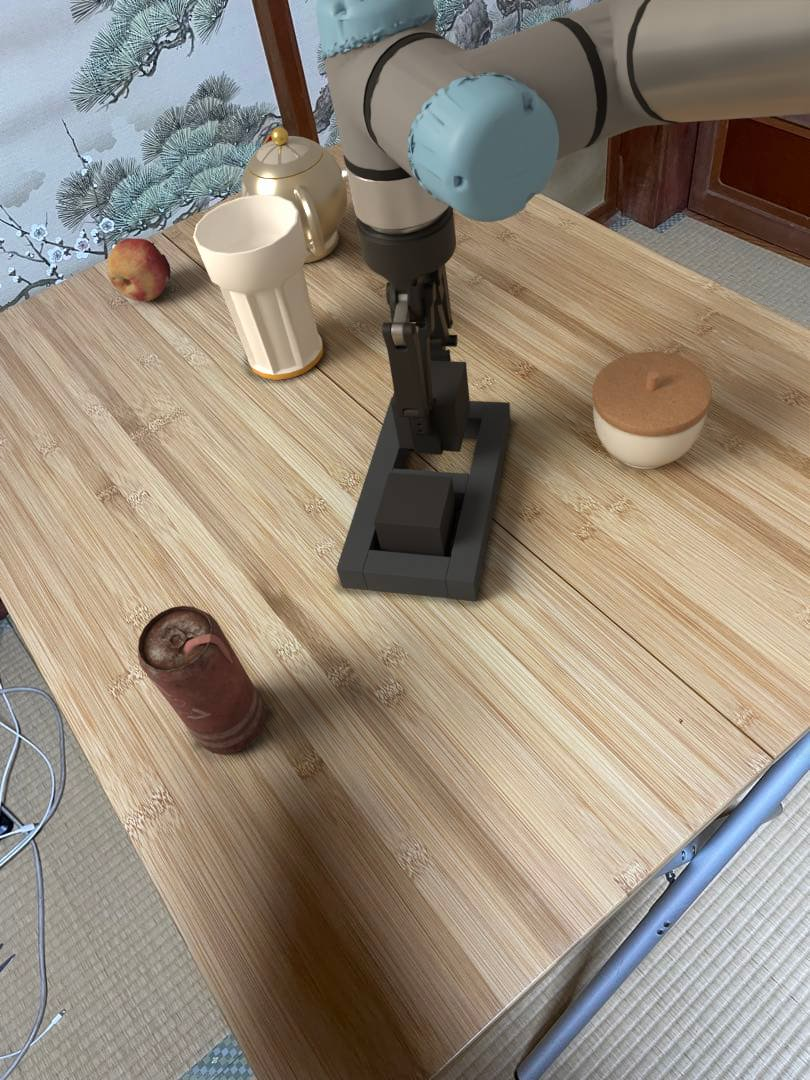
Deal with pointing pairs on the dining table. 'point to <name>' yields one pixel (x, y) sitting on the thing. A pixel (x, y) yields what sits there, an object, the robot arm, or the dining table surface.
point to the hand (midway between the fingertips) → (435, 426)
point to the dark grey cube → (417, 515)
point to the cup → (263, 281)
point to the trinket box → (650, 407)
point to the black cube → (443, 405)
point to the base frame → (472, 499)
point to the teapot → (301, 186)
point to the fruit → (138, 269)
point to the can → (202, 679)
